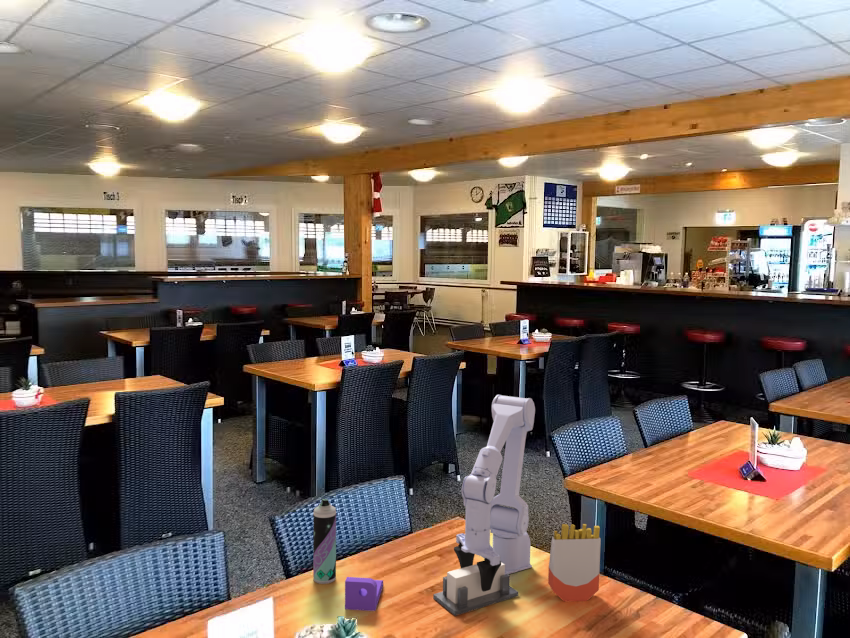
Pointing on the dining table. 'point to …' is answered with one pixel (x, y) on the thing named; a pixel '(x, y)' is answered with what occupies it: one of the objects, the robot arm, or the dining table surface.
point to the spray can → (324, 543)
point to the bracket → (362, 593)
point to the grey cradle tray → (478, 602)
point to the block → (470, 582)
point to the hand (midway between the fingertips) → (476, 583)
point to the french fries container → (575, 563)
